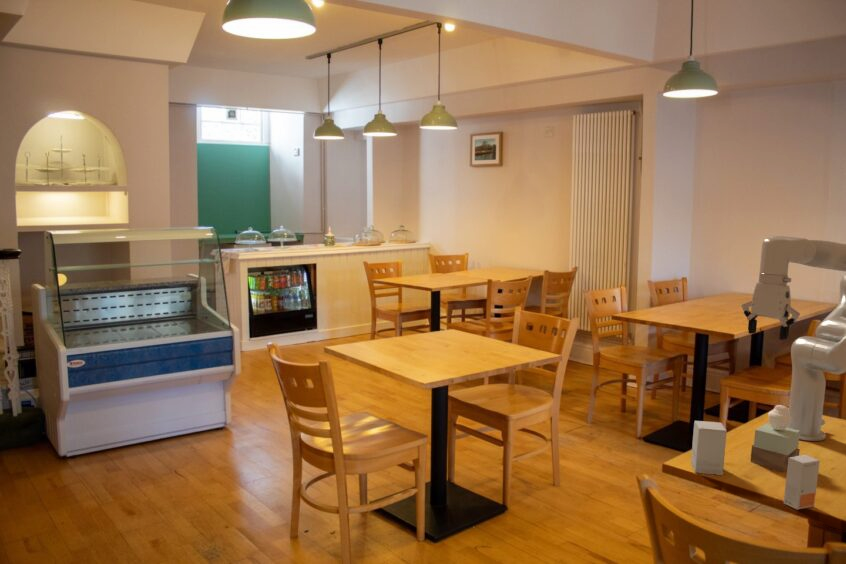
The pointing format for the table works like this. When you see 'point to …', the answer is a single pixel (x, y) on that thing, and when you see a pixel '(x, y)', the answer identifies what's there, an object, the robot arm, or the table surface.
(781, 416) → the muffin
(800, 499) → the skincare box
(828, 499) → the table surface
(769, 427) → the top block
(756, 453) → the bottom block
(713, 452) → the supplement box
